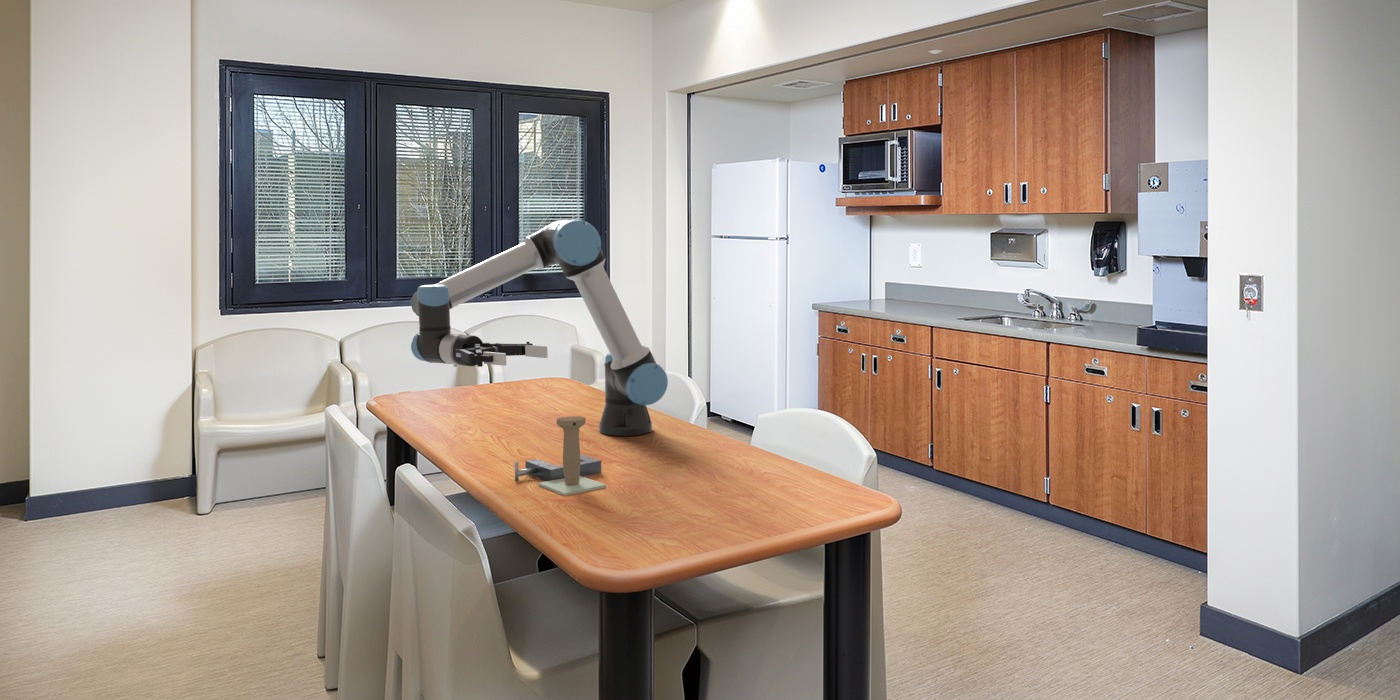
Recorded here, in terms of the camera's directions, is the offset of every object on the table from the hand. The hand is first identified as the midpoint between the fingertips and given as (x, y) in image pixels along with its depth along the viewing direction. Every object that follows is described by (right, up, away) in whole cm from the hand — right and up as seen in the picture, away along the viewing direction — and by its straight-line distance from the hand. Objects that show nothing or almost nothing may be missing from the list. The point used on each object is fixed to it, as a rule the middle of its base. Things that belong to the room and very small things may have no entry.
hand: (526, 355), depth 224 cm
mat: (+11, -29, -6) cm, 32 cm away
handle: (+11, -29, -6) cm, 32 cm away
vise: (+6, -28, +4) cm, 29 cm away
